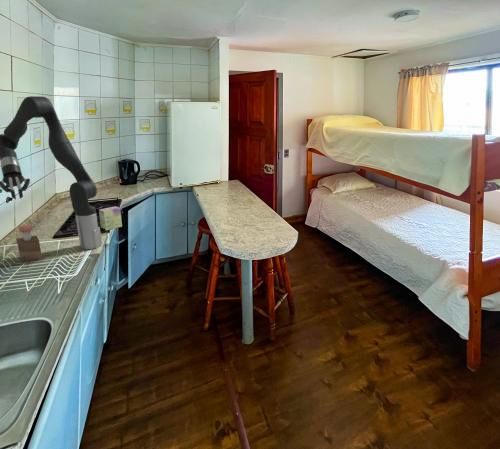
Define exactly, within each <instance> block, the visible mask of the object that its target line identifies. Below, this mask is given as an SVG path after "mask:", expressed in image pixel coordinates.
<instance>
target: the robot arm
mask: <svg viewBox="0 0 500 449" xmlns="http://www.w3.org/2000/svg"><path fill="white" fill-rule="evenodd" d="M34 118H35V119H39V118H43V120H44V121H45V123H46V125H47V127H48V147H49V149H50V152H51V154H52V155H53V157H54V158H55V160H56V161H57V162H58V163H59V164H60V165H61V166H63V167H64V168H65V169H66V170H68V172H70V173H71V175H73V177H74V179H75V180H76V182H73V183H71V184H70V186H69V196H70V202H71V205H72V206H71V207H72V209H73V211H74V214H75V220H76V221H75V222H76V227H77V228H76V229H77V234H78V241H79V242H78V243H79V245H80V246H79V248H80V249H82V250H94V249H98V248H99V247H100V246H102V244H103V242H102V234H101V226H98V225H99V224H98V216H97V209H96V207H95V206H93V205H90V203H89V200H90V199H93V198H95V197H97V193H98V188H97V187H96V184H95V182H94V181H93V179H92V177H91V176H90V174H89V173H88V171H87V170H86V169H85V166H84V165H83V163H82V161H81V159H79V156H78V155H77V152H76V150H75V149H74V147H73V145H72V143H71V141H70V139H69V138H68V136H67V134H66V131H65V130H64V128H63V125H62V123H61V121H60V119H59V117H58V114H57V111H56V110H55V107H54V106H53V103H52V102H51V100H50V99H49V98H48V97H46V96H40V95H39V96H36V95H35V96H33V95H32V96H31V95H30V96H26V97H25V98H24V99H23V100H22V102H21V103H20V105H19V107H18V110H17V111H16V113H15V115H14V118H13V119H12V120H11V122H9V124H8V125H7V126H6V127H5V129H4V130H3V133H0V134H1V135H0V168H1V169H0V170H1V172H2V180H0V188H1V189H2V190H3V191H4V192H6V193H10V194H11V198H12V199H14V200H17V196H16V192H15V189H14V187H17V191H18V196H19V199H21V200H22V198H23V197H24V194H23V192H25V191H27V189H28V187H29V186H30V184H31V179H30V178H25V177H24V176H23V174H22V169H21V166H20V162H19V160H18V156H17V153H16V151H15V150H17V148H18V146H19V141H20V139H21V138H22V137H23V136H24V135H25V134H26V132H27V130H28V122H29V121H30V120H32V119H34ZM22 184H23V185H22Z"/></svg>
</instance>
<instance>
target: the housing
mask: <svg viewBox="0 0 500 449" xmlns="http://www.w3.org/2000/svg"><path fill="white" fill-rule="evenodd" d="M31 239H32V240H29V241H24V240H23V237H20V238H19V237H18V238H16V244H17V249H18V253H19V258H20V261H21V263H27V262H32V261H38V260H42V259H43V255H42V250H41V249H42V248H41V244H40V240H39V238H38V235H33V236H32V235H31Z"/></svg>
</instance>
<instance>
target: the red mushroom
mask: <svg viewBox="0 0 500 449" xmlns="http://www.w3.org/2000/svg"><path fill="white" fill-rule="evenodd" d="M31 231H33V226H32V225H29V224H27V225H20V226H18V232H19V233H21V235H22V238H23V240H24V241H29V240H32V239H31V236H32V234H31Z"/></svg>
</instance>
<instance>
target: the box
mask: <svg viewBox="0 0 500 449" xmlns="http://www.w3.org/2000/svg"><path fill="white" fill-rule="evenodd" d="M98 214H99V222H100V229H101V228H103V229H105V230H104V231H109V230H113V229H117V228H123V222H122V212H121V207H119V206H111V207H106V208H105V207H104V208H101V209H98ZM103 229H102V230H103Z"/></svg>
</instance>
